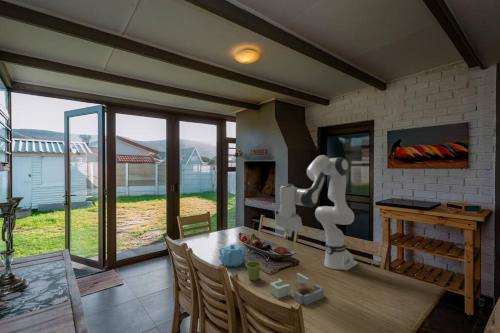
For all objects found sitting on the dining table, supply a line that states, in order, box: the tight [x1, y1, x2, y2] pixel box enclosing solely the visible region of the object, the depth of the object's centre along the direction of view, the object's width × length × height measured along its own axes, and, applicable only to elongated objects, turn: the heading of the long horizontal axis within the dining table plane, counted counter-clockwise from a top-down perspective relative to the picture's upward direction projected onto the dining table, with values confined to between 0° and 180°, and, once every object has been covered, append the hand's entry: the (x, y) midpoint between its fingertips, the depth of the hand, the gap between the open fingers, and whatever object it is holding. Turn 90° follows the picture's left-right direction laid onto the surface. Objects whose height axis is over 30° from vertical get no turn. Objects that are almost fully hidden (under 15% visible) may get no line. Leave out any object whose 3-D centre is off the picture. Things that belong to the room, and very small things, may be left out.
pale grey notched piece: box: [269, 272, 311, 299], centre depth 135 cm, size 21×9×5 cm, turn 120°
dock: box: [293, 284, 324, 306], centre depth 125 cm, size 15×6×4 cm, turn 120°
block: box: [296, 282, 312, 295], centre depth 126 cm, size 6×6×6 cm
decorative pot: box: [218, 243, 247, 268], centre depth 172 cm, size 16×16×14 cm
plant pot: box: [245, 260, 262, 281], centre depth 150 cm, size 9×9×9 cm
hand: (288, 236), depth 142 cm, fingers closed
